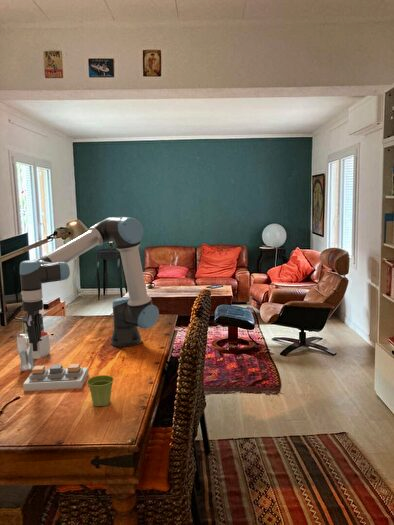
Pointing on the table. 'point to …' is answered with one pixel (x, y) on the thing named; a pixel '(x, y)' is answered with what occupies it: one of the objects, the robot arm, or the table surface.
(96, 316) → the table surface
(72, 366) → the key
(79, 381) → the console
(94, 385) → the plant pot
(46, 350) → the cup
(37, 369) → the key
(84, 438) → the table surface
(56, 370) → the key middle
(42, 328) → the coffee can
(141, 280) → the robot arm
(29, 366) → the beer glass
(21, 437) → the table surface
